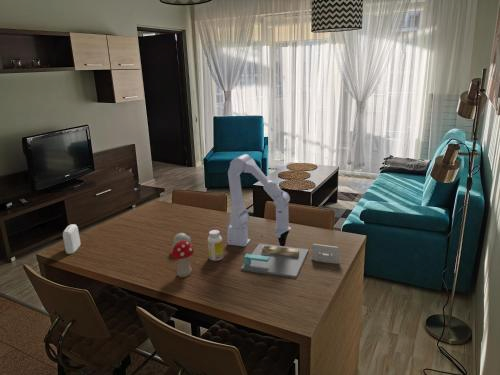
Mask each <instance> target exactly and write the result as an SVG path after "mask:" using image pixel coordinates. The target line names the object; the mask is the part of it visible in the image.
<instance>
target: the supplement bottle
mask: <svg viewBox="0 0 500 375" xmlns="http://www.w3.org/2000/svg"><path fill="white" fill-rule="evenodd" d="M208 235H209V236H208V237H207V250H208V259H209V260H210V261H214V262H215V261H221V260H222V259H223V258H224V247H223V237H222V236H221V234H220V230H218V229H212V230H210V231H209V232H208Z"/></svg>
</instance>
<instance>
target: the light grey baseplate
mask: <svg viewBox="0 0 500 375" xmlns="http://www.w3.org/2000/svg"><path fill="white" fill-rule="evenodd" d="M263 245H270V246H274V247H283V248H291V249H299V255H298V257H294V256H287V255H279V254H271V253H268V254H265V253H262V246H263ZM308 253H309V249H308V248H299V247H292V246H280V245H275V244H267V243H258V245H257V246H256V247H255V248H254V250H253V252H251V254H253V255H260V256H268V257H270V259H269V261H268V262H264V261H256V260H251V263H250V265H245V264H244V263H243V264H242V266H241V267H240V270H241V271H244V272H251V273H252V272H253V273H260V274H266V275H271V276H279V277H284V278H293V279H297V277H298V275H299V273H300V270H301V268H302V267H303V264H304V262H305V260H306V257H307V255H308Z"/></svg>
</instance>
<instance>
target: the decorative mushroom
mask: <svg viewBox="0 0 500 375" xmlns="http://www.w3.org/2000/svg"><path fill="white" fill-rule="evenodd" d="M194 252H195V250H194V248H193V246H192V244H190V243H189V242H188V241H179V242H178V243H176V244H175V246H174V248H173V249H171V254H170V255H171V257H172V258H173V259H175V260H178V265H177V266H178V267H177V271H176V274H177V277H179V278H185V277H188V276H190V275H192V270H193V269H192V266H191V265H190V261H189V258H188V257H191V256H192V255H193V254H194Z"/></svg>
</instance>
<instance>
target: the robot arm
mask: <svg viewBox="0 0 500 375" xmlns="http://www.w3.org/2000/svg"><path fill="white" fill-rule="evenodd" d="M242 173H245V174H246V173H248V174H251V175H252V176H254V178H255V179H256V180H257V181H258V182H260V183H261V184H262V186H263V190H264V191H265V192H266V193H267V195H268V196H269V197H270V198H271V199H272V200H273V204H274V206H275V238H277V239H278V242H279V246H284V247H286V243H287V238H288V235H289V233H290V231H291V230H292V227H290V226H289V224H290V223H289V222H290V221H289V202H290V201H291V197H290V194H289V193H288V192H286V191H284V190H282V189H281V188H280V187H279V185H278V183H277V182H276V181H274V180H270V179H269V178H268V177H267V176H266V174H264V172H263V171H262V170H261V168H260V167H259V166H258V165H257V163H256V161H255V160H254V159H253V158H252V157H251V155H249V154H248V153H243V154H242V155H239V156H237V157H235V158H233V159H232V160H231V161H230V162H229V168H228V171H227V177H228V183H229V184H228V185H229V191H230V192H229V193H230V200H231V208H232V209H231V211H230V214H229V215H230V218H229V225H228V227H227V232H226V233H227V245H228V246H229V245H230V246H237V247H238V246H239V247H246V246H247V245H248V244H249V242H250V241H251V238H248V221H249V218H250V216H249V212H248V211H247V207H246V206H245V205H244V199H243V190H242V182H241V176H240V175H241V174H242Z"/></svg>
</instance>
